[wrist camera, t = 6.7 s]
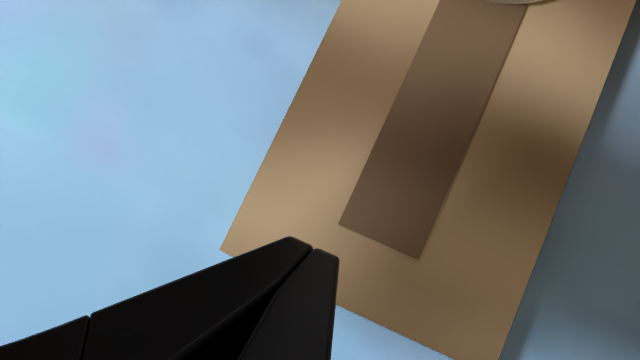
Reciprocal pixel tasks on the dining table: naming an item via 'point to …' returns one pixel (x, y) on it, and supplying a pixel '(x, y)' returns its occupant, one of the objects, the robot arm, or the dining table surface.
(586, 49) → the level stand
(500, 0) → the post
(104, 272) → the dining table surface
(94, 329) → the robot arm
